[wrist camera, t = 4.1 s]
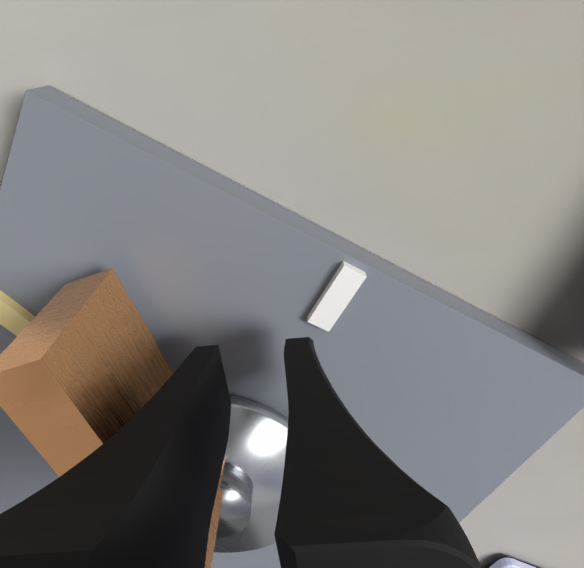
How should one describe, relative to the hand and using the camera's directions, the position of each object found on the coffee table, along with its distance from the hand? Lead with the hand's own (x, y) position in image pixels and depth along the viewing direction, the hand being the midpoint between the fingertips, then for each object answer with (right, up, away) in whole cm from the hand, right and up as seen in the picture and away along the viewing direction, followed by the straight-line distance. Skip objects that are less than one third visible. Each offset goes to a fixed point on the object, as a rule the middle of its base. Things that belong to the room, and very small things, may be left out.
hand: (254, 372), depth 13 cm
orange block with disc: (-2, -2, +3) cm, 4 cm away
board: (-1, -3, +4) cm, 5 cm away
